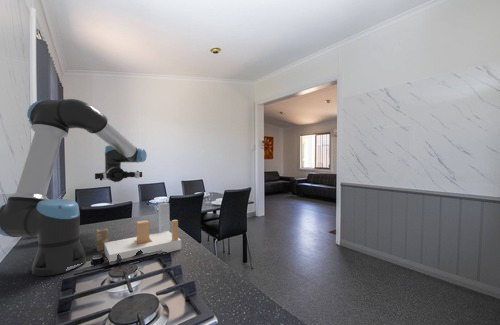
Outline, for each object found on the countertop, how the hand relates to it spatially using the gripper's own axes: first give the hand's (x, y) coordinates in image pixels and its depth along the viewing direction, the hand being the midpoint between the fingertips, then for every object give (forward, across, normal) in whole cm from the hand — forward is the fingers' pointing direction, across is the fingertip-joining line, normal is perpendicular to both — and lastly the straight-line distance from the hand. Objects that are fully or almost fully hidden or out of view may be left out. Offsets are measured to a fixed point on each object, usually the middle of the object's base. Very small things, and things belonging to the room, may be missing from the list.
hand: (122, 176), depth 112 cm
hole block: (+17, -5, -30) cm, 35 cm away
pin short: (+3, +8, -30) cm, 32 cm away
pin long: (+3, -18, -30) cm, 35 cm away
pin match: (+17, -5, -30) cm, 35 cm away
